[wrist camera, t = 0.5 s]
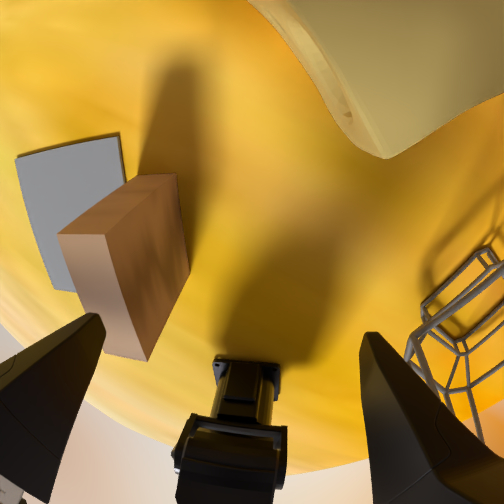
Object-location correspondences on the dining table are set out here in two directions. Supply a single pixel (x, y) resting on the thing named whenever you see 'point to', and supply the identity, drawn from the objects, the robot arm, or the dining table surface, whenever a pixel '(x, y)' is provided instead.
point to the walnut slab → (130, 261)
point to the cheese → (395, 62)
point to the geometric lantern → (440, 316)
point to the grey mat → (66, 193)
